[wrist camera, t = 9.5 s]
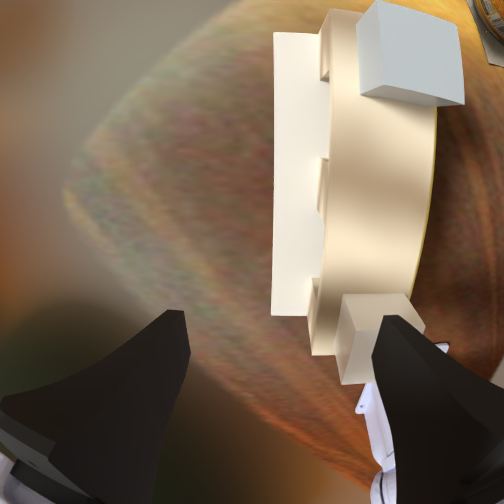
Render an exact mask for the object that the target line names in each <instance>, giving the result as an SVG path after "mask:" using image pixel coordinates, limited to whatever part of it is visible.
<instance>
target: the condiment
mask: <svg viewBox="0 0 504 504" xmlns="http://www.w3.org/2000/svg"><path fill="white" fill-rule="evenodd" d="M466 1H467V3H468V6H469V7H470V11H471V13H472V15H473V17H474V20H475V22H476V24H477V27H478V31H479V33H480V37H481V40H482V43H483V46H484V48H485V51H486V55H487V59H488V63H491V64H495V65H499V66H502V67H504V0H466ZM486 31H487V33H486Z"/></svg>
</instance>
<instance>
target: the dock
mask: <svg viewBox="0 0 504 504" xmlns="http://www.w3.org/2000/svg"><path fill="white" fill-rule="evenodd" d="M273 33H274V224H273V268H272V301H271V315H282V316H307V312H308V303H309V294H310V285H311V278H320V270H321V261H322V251H323V240H324V228H325V224H324V222H323V220H322V218H321V216H320V214H319V212H318V210H317V194H318V172H319V157H321V158H329V125H330V83H329V81H320V70H319V40H318V34H306V33H285V32H273ZM436 130H437V107H435V135H434V154H433V166H432V177H431V186H430V194H429V202H428V209H427V215H426V221H425V227H424V233H423V238H422V243H421V248H420V253H419V258H418V262H417V266H416V271H415V275H414V279H413V283H412V287H411V290H410V294H409V298H408V300H409V301H410V297H411V293H412V290H413V286H414V282H415V278H416V274H417V270H418V266H419V261H420V257H421V252H422V248H423V243H424V238H425V232H426V227H427V221H428V215H429V208H430V201H431V193H432V185H433V176H434V165H435V151H436Z"/></svg>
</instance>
